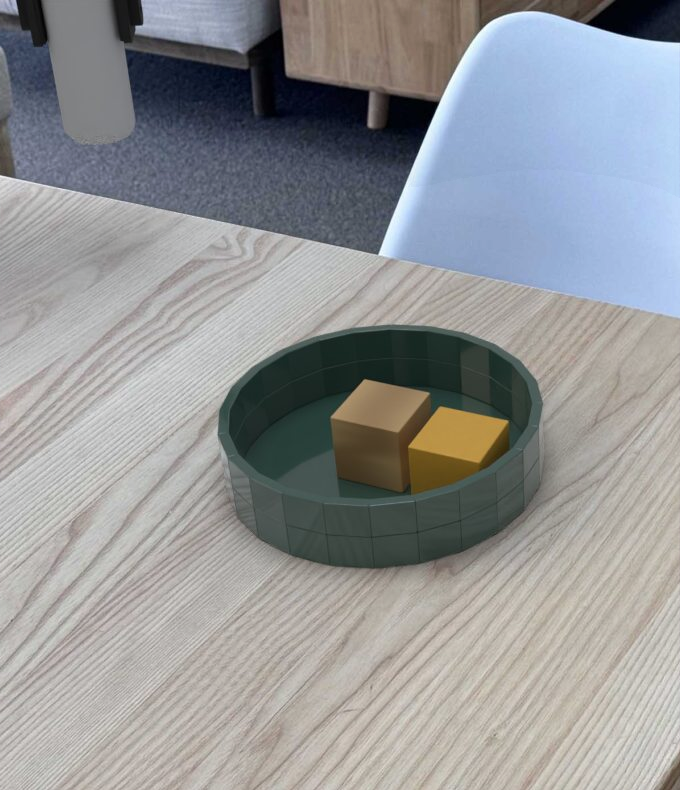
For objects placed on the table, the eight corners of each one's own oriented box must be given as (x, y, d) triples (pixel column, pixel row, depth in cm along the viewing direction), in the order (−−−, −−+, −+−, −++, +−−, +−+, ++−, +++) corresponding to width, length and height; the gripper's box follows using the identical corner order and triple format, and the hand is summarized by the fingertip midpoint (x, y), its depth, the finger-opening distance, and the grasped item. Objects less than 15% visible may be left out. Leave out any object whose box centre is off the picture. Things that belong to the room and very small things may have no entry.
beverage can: (51, 143, 94) (17, -37, 87) (86, 117, 98) (56, -57, 91) (117, 150, 93) (88, -31, 86) (150, 123, 97) (124, -52, 90)
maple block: (336, 478, 76) (329, 417, 74) (369, 438, 79) (364, 378, 77) (403, 493, 75) (398, 432, 72) (434, 452, 78) (430, 392, 76)
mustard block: (412, 508, 74) (407, 446, 71) (443, 466, 77) (439, 405, 74) (482, 525, 72) (479, 462, 70) (511, 481, 75) (509, 420, 73)
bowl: (166, 531, 73) (152, 462, 71) (323, 367, 87) (316, 303, 84) (467, 610, 68) (463, 537, 65) (586, 421, 81) (586, 355, 79)
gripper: (185, -278, 86) (219, 15, 96) (-103, -273, 84) (-38, 25, 94) (178, -259, 80) (215, 52, 90) (-133, -253, 78) (-61, 64, 88)
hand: (85, 35), depth 92 cm, fingers closed on beverage can, 4 cm apart
